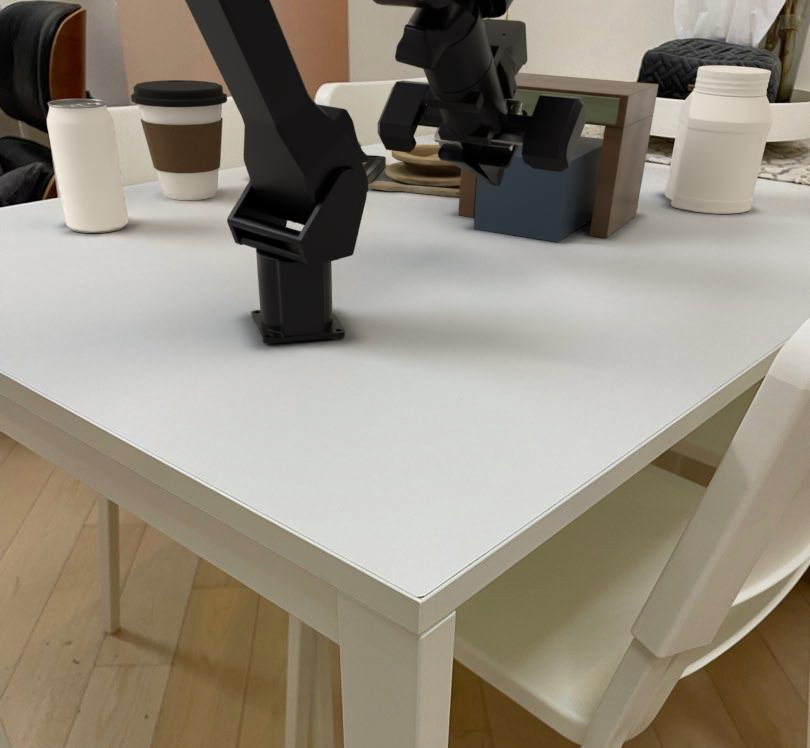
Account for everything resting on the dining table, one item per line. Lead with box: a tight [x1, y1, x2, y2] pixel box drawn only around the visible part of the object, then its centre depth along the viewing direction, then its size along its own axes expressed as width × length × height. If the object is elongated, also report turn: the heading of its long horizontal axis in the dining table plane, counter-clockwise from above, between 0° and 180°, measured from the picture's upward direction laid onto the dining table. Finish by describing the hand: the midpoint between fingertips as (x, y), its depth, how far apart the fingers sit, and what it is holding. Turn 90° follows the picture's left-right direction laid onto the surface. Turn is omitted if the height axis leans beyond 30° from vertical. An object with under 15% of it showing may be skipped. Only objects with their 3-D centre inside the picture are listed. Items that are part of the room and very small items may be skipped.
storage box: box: [473, 135, 603, 243], centre depth 97 cm, size 16×10×8 cm, turn 152°
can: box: [46, 98, 129, 234], centre depth 89 cm, size 6×6×12 cm
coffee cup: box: [130, 79, 228, 201], centre depth 102 cm, size 11×11×12 cm
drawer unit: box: [457, 72, 659, 239], centre depth 97 cm, size 13×18×14 cm
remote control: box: [364, 154, 387, 185], centre depth 117 cm, size 8×1×15 cm
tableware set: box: [358, 140, 461, 198], centre depth 116 cm, size 30×20×6 cm, turn 75°
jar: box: [664, 65, 773, 215], centre depth 104 cm, size 12×10×15 cm
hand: (497, 181), depth 85 cm, fingers closed
